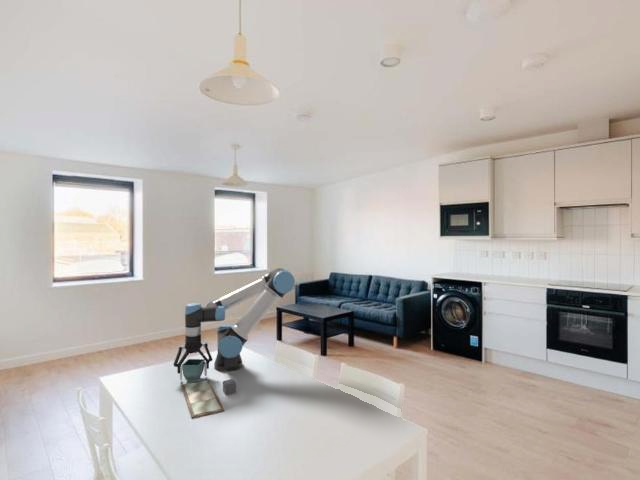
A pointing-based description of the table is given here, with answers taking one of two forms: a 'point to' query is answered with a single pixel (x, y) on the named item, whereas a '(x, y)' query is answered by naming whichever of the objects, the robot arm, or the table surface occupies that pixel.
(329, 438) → the table surface
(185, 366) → the flower pot
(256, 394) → the table surface
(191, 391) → the board
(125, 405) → the table surface
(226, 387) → the gray block
